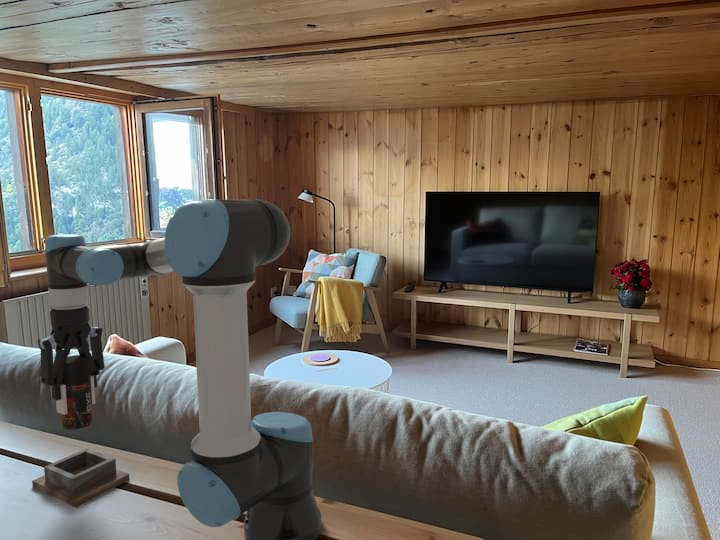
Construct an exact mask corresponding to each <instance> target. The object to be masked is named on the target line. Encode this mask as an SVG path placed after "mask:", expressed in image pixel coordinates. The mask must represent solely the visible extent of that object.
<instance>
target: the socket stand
mask: <svg viewBox="0 0 720 540" xmlns="http://www.w3.org/2000/svg"><path fill="white" fill-rule="evenodd" d="M116 462H117V461H116V457H115V458H114V457H112V456H109V455H107V454H104V453H101V452H99V451H96V450H94V449H91V448H88V447H86V448H84V449H82V450H80V451H78V452H75V453H73V454H70V455H68V456H66V457H64V458H62V459H59V460H57V461H54V462H52V463H50V464H48V465H45V466H44V468H43V471H44V475H42V476H40V477H37V478H36V479H33V480H31V483H32V488H34V489H36V490H38V491H40V492H42V493H45V494H47V495H49V496H50V497H53V498H55V499H58V500H59V501H61V502H63V503H66V504H68V505H70V506H72V507H75V508H78V506H79V507H81V506H82V504H83V505H84V504H86V503H89V502H91V501H92V500H94V499H96V498H97V496H98V497H100V496H101V495H100V494H102V493H103V494H105V493H107V492H109V491H111V490H113V489H115V488H117V487H119V486H120V485H123V484H124V483H126V482H129V481H130V480H131V479H130V473H129V472H126V471H124V470H121V469H118V468H117V464H116ZM112 488H113V489H112ZM110 489H111V490H110ZM108 490H109V491H108ZM106 491H107V492H106ZM104 492H105V493H104ZM103 494H102V495H103ZM99 495H100V496H99ZM95 497H96V498H95ZM93 498H94V499H93ZM80 505H81V506H80Z"/></svg>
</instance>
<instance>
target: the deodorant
mask: <svg viewBox="0 0 720 540" xmlns="http://www.w3.org/2000/svg"><path fill="white" fill-rule="evenodd" d="M62 384H65V385H66V399H67V413H68V414H65V415H64V414H61V423H62V425H61V427H62V429H65V430H68V431H69V430H71V431H72V430H73V431H74V430H80V429H84V428H86V427H89V426H90V425H91V424H93V413H92V404H91V395H90V380H89V364H88V357H83V356H80V355H79V354H77V355H76V354H74V355H68V357H67V361H66V363H65V370H64V375H63V379H62Z"/></svg>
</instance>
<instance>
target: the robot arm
mask: <svg viewBox="0 0 720 540" xmlns="http://www.w3.org/2000/svg"><path fill="white" fill-rule="evenodd" d="M287 218H288V217H286V214H285V213H284V212H283V211H282V210H281V209H280V208H279V207H278V206H277V205H276V204H273V203H272V202H270V201H267V200H264V199H259V198H252V199H251V198H249V199H217V198H216V199H213V198H208V199H201V200H200V199H199V200H192V201H189V202H186V203H184V204H181V205H180V206H179V207H178V208H177V209H175V211H174V213H173V215H171V216H170V218H169V219H168V223H167V225H166V227H165V232H164V237H161V238H157V239H153V240H149V241H145V242H138V243H128V244H126V243H125V244H114V245H113V244H112V245H100V246H87V244H86V241H85V238H84V236H83V235H82V234H77V233H76V234H75V233H73V234H66V233H64V234H53V235H49V236H47V237H46V238H45V240H44V241H45V242H44V243H45V244H44V245H45V252H44V256H45V265H46V276H47V286H48V287H47V289H48V301H49V306H50V307H51V308H50V309H49V316H50V317H49V318H50V320H49V321H50V325H51V327H52V328H51V332H50V335H49V336H47V337H45V338H39V339H38V340H37V345H38V347H39V350H40V383H41V384H42V385H45V386H48V387H51V398H52V399H53V400H54V401H55V408H56V413H57V414H60V415H62V414H64V415H65V414H68V413H67V399H66V385H65V384H62V379H63V375H64V370H65V363H66V361H67V357H68V356H69V355H70V354H71V350H73V349H74V348H75V349H76V350H77V353H78V355H80V356H83V357H88V364H89V380H90V395H91V405H95V404H96V392H95V391H96V390H95V388H97V387H98V377H97V376H99V375H100V373H101V371H103V370H105V361H104V360H105V359H104V351H103V343H102V342H103V341H102V335H103V328H102V327H99V326H98V327H97V326H91V325H90V319H91V317H90V307H89V305H87V304H88V303H89V302H90V301H89V289H88V285H92V286H96V287H98V286H110V285H113V284H115V283H116V282H117V281H124V280H129V279H138V278H144V277H146V278H147V277H152V276H153V277H154V276H162V275H165V274H168V273H171V272H175V273H176V274H178V275H179V276H181V278H182V281H181V282H182V286H183V287H185V288H186V289H187V290H189V292H191V294H192V300H193V322H194V323H193V324H194V326H193V327H194V339H195V340H194V343H195V361H196V362H195V363H196V364H195V365H196V383H197V384H196V385H197V387H196V388H197V400H198V401H197V402H198V405H197V407H198V422H199V423H198V424H199V432H198V433H197V434H196V435H195V437H193V438H192V440H191V442H190V453H191V460H190V461H188V462H186V463H184V465H182V467H181V468H180V470H179V471H178V474H177V480H176V481H177V489H178V492H179V497H180V498H181V500H182V502H183V504H184V506H185V508H186V509H187V510H188V511H189V513H190V514H191V515H192V516H193V518H195V519H196V521H198V522H199V523H201V524H202V525H205V526H207V527H209V528H220V527H223V526H224V525H226V524H228V523H230V522H231V521H235V520H237V519H238V518H239V517H240V516H242V515H243V514H244V513H246V514H245V517H244V519H243V534H244V539H245V540H317V539H318V537H319V536H320V534H321V532H322V514H321V511H320V508H319V506H318V504H317V501H316V498H315V493H314V490H313V442H314V438H313V431H312V430H313V429H312V425H311V422H310V421H309V420H308V419H307V418H305V417H304V416H302V415H300V414H297V413H292V412H284V411H271V412H270V411H269V412H264V413H259V414H257V415H255V416H254V417H253V418H252V413H251V412H252V411H251V409H252V407H251V406H252V405H251V382H250V381H251V380H250V377H251V376H250V354H249V353H250V352H249V351H250V347H249V323H248V321H249V320H248V299H247V298H248V297H247V296H248V294H247V292H248V290H249V289H250V288H251V287H252V286H253V285H254V284H255V283H256V267H257V266H258V267H259V266H263V265H266V264H267V265H268V264H271V263H272V262H273V261H276V260H277V259H279V258H280V256H281V257H282V255H283V253H284V252H285V251H286V249H287V247H288V246H289V242H290V240H291V227H290V223H289V220H288V219H287ZM88 336H89V342H88V339H87V338H88ZM54 343H55V344H56V346H55V350H53V349H54V348H53V347H54ZM89 344H90V345H89ZM54 351H55V356H54Z"/></svg>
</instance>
